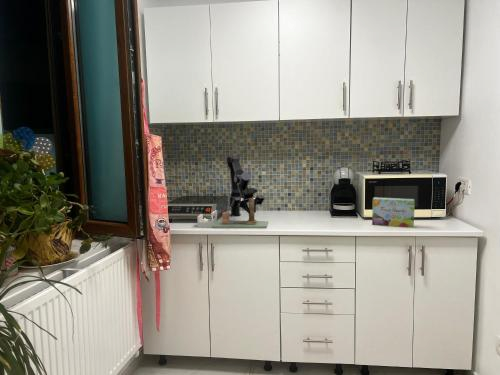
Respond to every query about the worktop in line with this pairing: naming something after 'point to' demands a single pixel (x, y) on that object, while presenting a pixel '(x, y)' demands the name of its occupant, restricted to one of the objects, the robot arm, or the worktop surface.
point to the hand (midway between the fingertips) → (252, 212)
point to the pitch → (230, 225)
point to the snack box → (393, 212)
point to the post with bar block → (251, 221)
